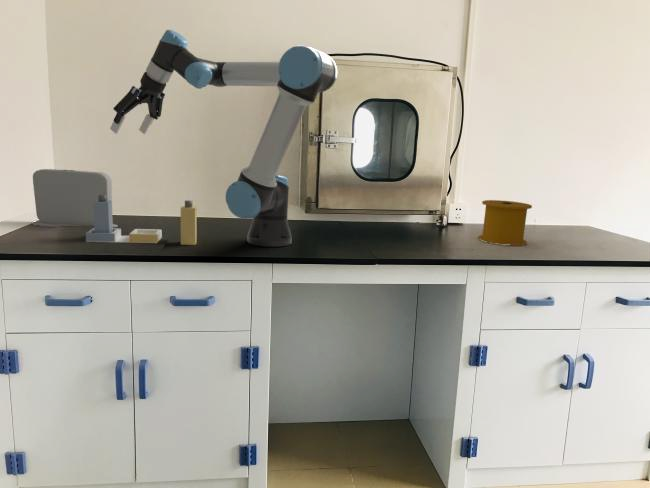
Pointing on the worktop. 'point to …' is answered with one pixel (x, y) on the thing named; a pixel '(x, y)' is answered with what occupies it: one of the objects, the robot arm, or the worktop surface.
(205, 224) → the worktop surface
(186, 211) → the ochre plug
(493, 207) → the spool
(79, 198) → the grey upright panel
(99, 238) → the slot rack
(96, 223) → the blue-grey bottle
